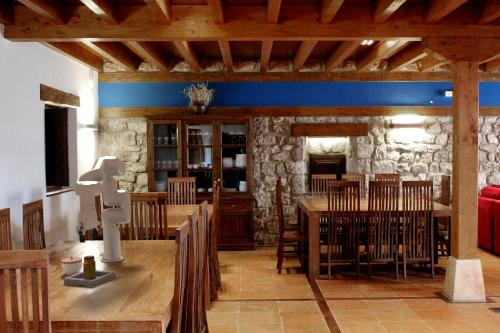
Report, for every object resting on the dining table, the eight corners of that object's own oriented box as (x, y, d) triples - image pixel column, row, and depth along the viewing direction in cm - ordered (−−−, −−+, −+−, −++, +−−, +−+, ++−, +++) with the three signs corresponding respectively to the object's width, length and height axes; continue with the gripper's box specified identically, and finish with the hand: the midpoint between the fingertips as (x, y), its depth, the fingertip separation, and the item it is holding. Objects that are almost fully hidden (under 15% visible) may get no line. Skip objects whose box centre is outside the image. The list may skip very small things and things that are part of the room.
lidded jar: (86, 271, 262) (86, 254, 262) (73, 276, 252) (72, 259, 252) (70, 270, 266) (70, 253, 265) (57, 275, 256) (56, 258, 255)
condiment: (80, 279, 243) (79, 256, 243) (95, 276, 250) (94, 253, 249) (88, 282, 239) (87, 258, 238) (102, 278, 245) (102, 255, 245)
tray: (63, 284, 238) (63, 278, 238) (88, 274, 255) (88, 269, 255) (92, 287, 231) (92, 281, 231) (116, 277, 248) (115, 271, 248)
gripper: (93, 204, 251) (94, 236, 252) (69, 209, 235) (71, 243, 236) (104, 205, 248) (106, 237, 249) (81, 210, 232) (83, 244, 233)
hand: (89, 240), depth 243 cm, fingers open, 9 cm apart
